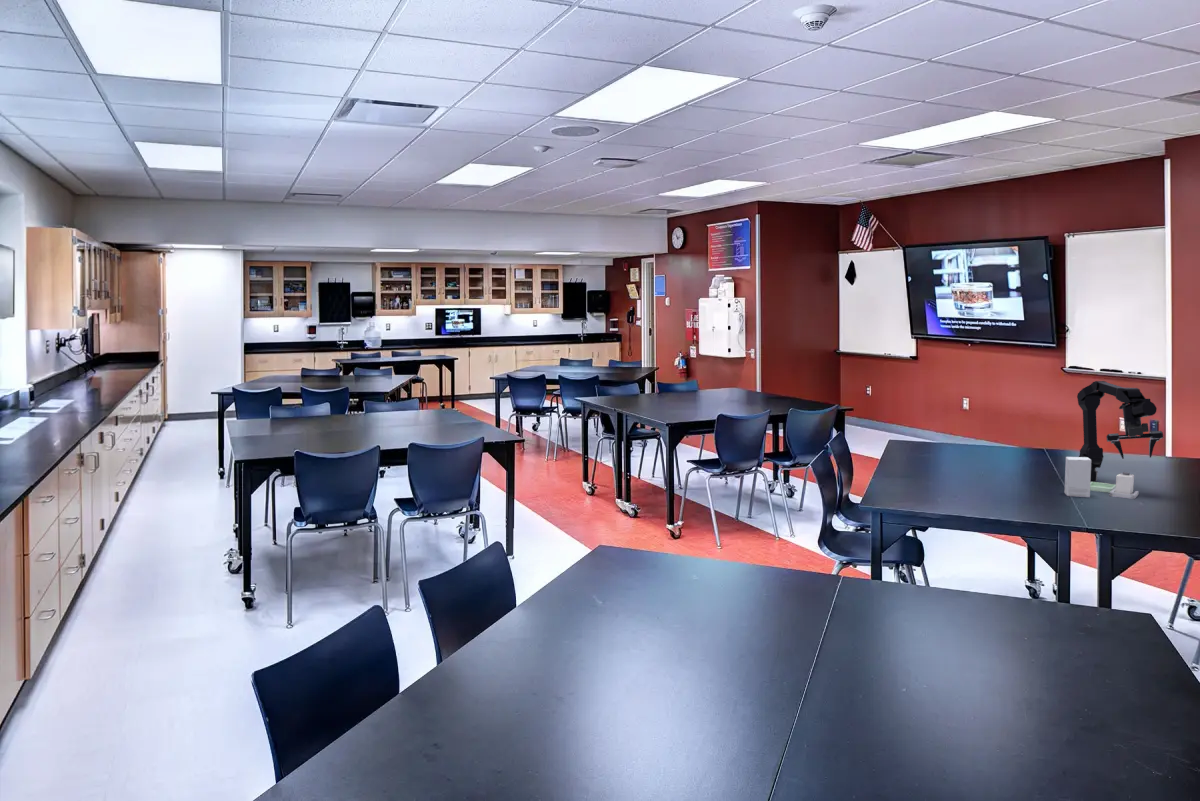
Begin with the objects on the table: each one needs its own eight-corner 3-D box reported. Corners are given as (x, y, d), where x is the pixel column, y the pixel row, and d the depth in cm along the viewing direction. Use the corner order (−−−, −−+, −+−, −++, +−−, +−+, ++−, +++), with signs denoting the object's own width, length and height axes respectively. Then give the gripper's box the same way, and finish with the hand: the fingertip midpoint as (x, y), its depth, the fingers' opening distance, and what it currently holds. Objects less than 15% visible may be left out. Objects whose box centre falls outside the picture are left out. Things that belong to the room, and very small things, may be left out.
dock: (1109, 497, 332) (1109, 492, 332) (1113, 493, 339) (1113, 488, 339) (1134, 500, 327) (1134, 495, 326) (1138, 496, 334) (1138, 491, 334)
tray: (1085, 491, 343) (1086, 486, 343) (1091, 486, 352) (1091, 481, 351) (1111, 494, 337) (1112, 489, 337) (1116, 489, 346) (1117, 484, 346)
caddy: (1115, 495, 332) (1116, 473, 331) (1118, 492, 338) (1119, 471, 337) (1129, 497, 329) (1131, 475, 328) (1132, 494, 334) (1134, 472, 333)
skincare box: (1086, 495, 336) (1089, 457, 334) (1090, 499, 330) (1092, 459, 328) (1063, 494, 338) (1065, 455, 337) (1066, 497, 332) (1068, 458, 331)
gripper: (1106, 418, 332) (1110, 458, 329) (1162, 415, 323) (1167, 455, 321) (1104, 421, 342) (1108, 459, 339) (1159, 418, 333) (1163, 457, 331)
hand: (1136, 458), depth 332 cm, fingers open, 9 cm apart
